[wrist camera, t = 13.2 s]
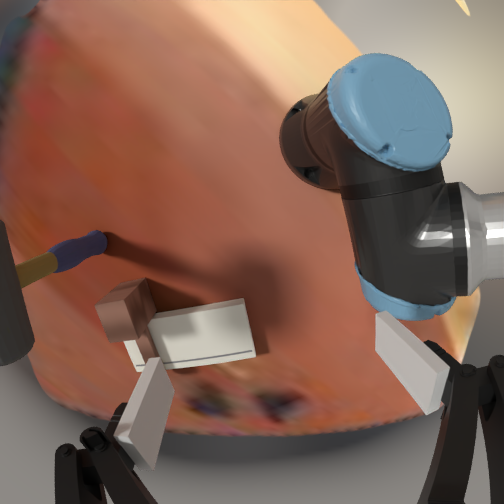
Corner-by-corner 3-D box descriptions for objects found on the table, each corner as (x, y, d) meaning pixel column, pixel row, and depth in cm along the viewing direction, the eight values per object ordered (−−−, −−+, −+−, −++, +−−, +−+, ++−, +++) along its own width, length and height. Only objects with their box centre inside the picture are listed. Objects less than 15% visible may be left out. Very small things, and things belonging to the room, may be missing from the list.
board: (122, 318, 45) (116, 324, 42) (243, 297, 45) (244, 303, 42) (140, 364, 47) (136, 372, 44) (255, 349, 47) (256, 357, 44)
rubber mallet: (77, 208, 40) (-67, 238, 11) (114, 199, 40) (-37, 223, 11) (91, 278, 43) (-28, 366, 14) (127, 274, 43) (11, 377, 14)
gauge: (120, 282, 43) (94, 305, 34) (145, 277, 43) (123, 299, 34) (152, 366, 47) (137, 399, 37) (176, 363, 47) (165, 398, 37)
